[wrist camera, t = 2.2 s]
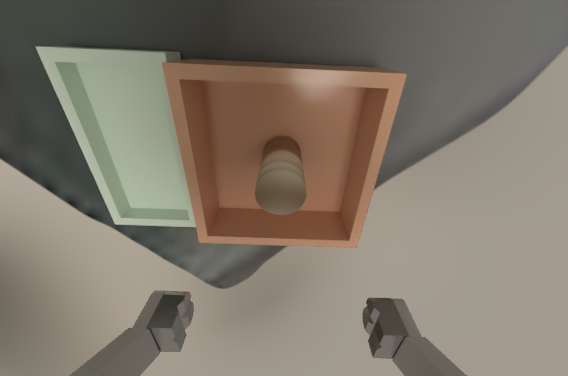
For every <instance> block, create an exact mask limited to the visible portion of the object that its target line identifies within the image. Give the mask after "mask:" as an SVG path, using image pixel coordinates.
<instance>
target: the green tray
mask: <svg viewBox="0 0 568 376" xmlns="http://www.w3.org/2000/svg"><path fill="white" fill-rule="evenodd" d="M36 49H37V51H38V54H39V56H40V58H41V60H42V63H43V65H44V67H45V69H46V71H47V74H48V76H49V78H50V80H51V83H52V85H53V87H54V89H55V92H56V94H57V96H58V98H59V100H60V103H61V105H62V107H63V109H64V112H65V114H66V116H67V118H68V120H69V123H70V125H71V127H72V129H73V132H74V134H75V136H76V138H77V141H78V143H79V145H80V147H81V149H82V152H83V154H84V156H85V158H86V161H87V163H88V165H89V167H90V169H91V172H92V174H93V176H94V178H95V181H96V183H97V185H98V187H99V190H100V192H101V194H102V196H103V198H104V201H105V203H106V205H107V207H108V210H109V212H110V214H111V216H112V219H113V221H114V223H115V224H120V225H150V226H179V227H196V224H195V219H194V215H193V210H192V205H191V200H190V196H189V191H188V186H187V181H186V176H185V172H184V167H183V162H182V157H181V153H180V148H179V143H178V138H177V134H176V129H175V124H174V119H173V115H172V110H171V105H170V100H169V96H168V91H167V86H166V81H165V77H164V72H163V67H162V62H170V61H178V60H181V56H180V52H172V51H151V50H129V49H108V48H86V47H36Z"/></svg>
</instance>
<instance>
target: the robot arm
mask: <svg viewBox="0 0 568 376" xmlns="http://www.w3.org/2000/svg"><path fill="white" fill-rule="evenodd" d="M190 298H191V294H190V292H177V291H154V292H153V293H152V294H151V296H150V297H149V299H148V301H147V303H146V305H145V306H144V308H143V310H142V312H141V313H140V315H139V317H138V319H137V321H136V322H135V324H134V326H133V328H128V329H127V330H126V331H124V332H123V333H122V334H121V335H119V336H118V337H117V338H116V339H115V340H113V341H112V342H111V343H109V344H108V345H107V346H106V347H105V348H103V349H102V350H101V351H100V352H98V353H97V354H96V355H95V356H93V357H92V358H91V359H90V360H88V361H87V362H86V363H85V364H83V365H82V366H81V367H80V368H78V369H77V370H76V371H75V372H74V373H72V374H71V375H70V376H140V375H141V374H142V373H143V372H144V371H145V370H146V368H147V367H148V366H149V365H150V364H151V363H152V362H153V361H154V360H155V358H156V357H157V356H158V355H159V354H160V352H180V351H181V348H182V346H183V343H184V340H185V337H186V333H185V329H186V328H187V327H188V326H189V325H190V323H191V320H192V317H193V312H194V306H193V302H191V301H190ZM366 304H367V307H365V308H364V310H363V325H364V328H365V331H366V332H367V333H368V334H369V335H370V337H369V340H368V342H369V346H370V349H371V353H372V356H373V358H387V359H393V361H394V363H395V364H396V365H397V367H398V368H399V369H400V370H401V372H402V373H403V374H404V376H466V375H465V374H464V373H463V372H462V371H461V370H460V369H459V368H458V367H457V366H456V365H455V364H453V363H452V362H451V361H450V360H449V359H448V358H447V357H446V356H445V355H444V354H443V353H442V352H441V351H439V350H438V349H437V348H436V347H435V346H434V345H433V344H432V343H431V342H430V341H429V340H428V339H426V338H425V337H422V336H421V334H420V332H419V330H418V328H417V326H416V324H415V322H414V320H413V318H412V316H411V314H410V312H409V309H408V307H407V306H406V303H405V302H404V300H403V299H390V298H368V299H367V302H366Z"/></svg>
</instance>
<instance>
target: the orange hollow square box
mask: <svg viewBox="0 0 568 376" xmlns="http://www.w3.org/2000/svg"><path fill="white" fill-rule="evenodd" d="M162 67H163V72H164V77H165V81H166V86H167V91H168V96H169V100H170V105H171V110H172V115H173V119H174V124H175V129H176V134H177V138H178V143H179V148H180V153H181V157H182V162H183V167H184V172H185V176H186V181H187V186H188V191H189V196H190V200H191V205H192V210H193V215H194V219H195V224H196V229H197V234H198V238H199V243H224V244H254V245H284V246H316V247H344V248H357V246H358V242H359V239H360V235H361V232H362V228H363V225H364V221H365V218H366V214H367V211H368V207H369V204H370V201H371V197H372V194H373V190H374V187H375V183H376V180H377V176H378V173H379V169H380V166H381V163H382V159H383V156H384V152H385V149H386V145H387V142H388V138H389V135H390V131H391V128H392V124H393V121H394V118H395V114H396V111H397V107H398V104H399V100H400V97H401V93H402V90H403V86H404V83H405V79H406V76H407V74H406V73H401V72H397V71H392V70H388V69H383V68H379V67H360V66H339V65H317V64H295V63H273V62H252V61H230V60H208V59H186V60H178V61H170V62H162ZM276 136H288V137H290V138H292V139H294V140H295V141H296V142H297V143H298V145H299V147H300V151H301V158H302V165H303V172H304V179H305V186H306V200H305V202H304V204H303V205H302V206H301V207H300V208H299V209H298V210H297V211H295V212H293V213H291V214H287V215H275V214H271V213H269V212H267V211H265V210H264V209H262V208H261V207H260V206H259V204H258V203H257V201H256V198H255V188H256V183H257V179H258V174H259V169H260V165H261V160H262V155H263V150H264V147H265V145H266V143H267V142H268V141H269V140H270V139H272V138H274V137H276Z"/></svg>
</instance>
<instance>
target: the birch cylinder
mask: <svg viewBox="0 0 568 376" xmlns="http://www.w3.org/2000/svg"><path fill="white" fill-rule="evenodd" d="M255 198H256V201H257V203H258V204H259V206H260V207H261V208H262V209H264V210H265V211H267V212H269V213H271V214H275V215H287V214H291V213H293V212H295V211H297V210H298V209H299V208H300V207H301V206H302V205H303V204H304V202H305V200H306V186H305V179H304V172H303V165H302V158H301V151H300V147H299V145H298V143H297V142H296V141H295V140H294V139H292V138H290V137H288V136H276V137H274V138H272V139H270V140H269V141H268V142H267V143H266V145H265V147H264V150H263V155H262V160H261V165H260V169H259V174H258V179H257V183H256V188H255Z"/></svg>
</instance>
